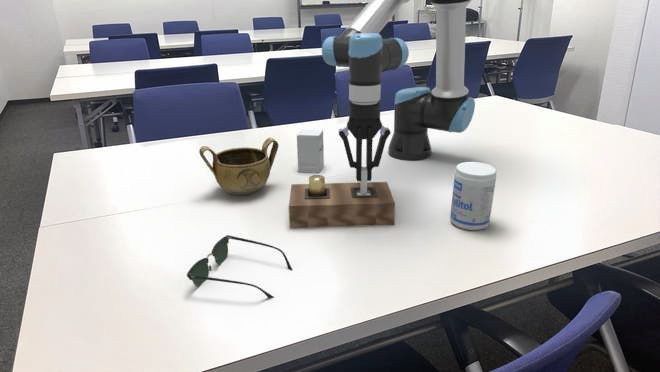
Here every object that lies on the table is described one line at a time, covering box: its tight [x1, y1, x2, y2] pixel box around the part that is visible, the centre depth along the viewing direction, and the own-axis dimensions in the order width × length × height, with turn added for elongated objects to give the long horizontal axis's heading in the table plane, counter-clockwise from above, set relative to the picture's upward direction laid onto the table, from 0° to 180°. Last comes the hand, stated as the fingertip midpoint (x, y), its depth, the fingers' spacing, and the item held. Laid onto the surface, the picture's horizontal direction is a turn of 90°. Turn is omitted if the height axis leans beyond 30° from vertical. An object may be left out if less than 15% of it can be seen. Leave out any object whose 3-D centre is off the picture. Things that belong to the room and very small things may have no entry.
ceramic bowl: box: [198, 137, 279, 196], centre depth 138 cm, size 22×17×15 cm
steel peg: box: [356, 190, 372, 196], centre depth 123 cm, size 4×4×6 cm
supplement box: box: [296, 128, 325, 174], centre depth 154 cm, size 7×7×13 cm
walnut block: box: [288, 181, 396, 229], centre depth 123 cm, size 26×14×6 cm, turn 92°
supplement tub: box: [449, 161, 497, 231], centre depth 116 cm, size 10×10×15 cm
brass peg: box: [308, 174, 326, 197], centre depth 121 cm, size 4×4×6 cm
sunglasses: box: [186, 234, 293, 299], centre depth 97 cm, size 16×17×5 cm
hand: (363, 192), depth 122 cm, fingers closed
